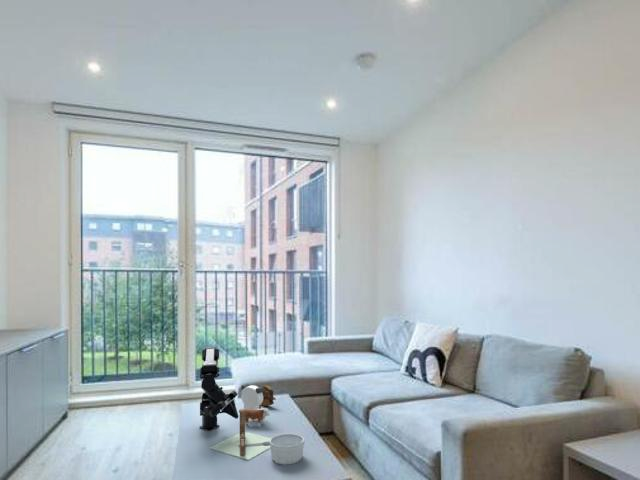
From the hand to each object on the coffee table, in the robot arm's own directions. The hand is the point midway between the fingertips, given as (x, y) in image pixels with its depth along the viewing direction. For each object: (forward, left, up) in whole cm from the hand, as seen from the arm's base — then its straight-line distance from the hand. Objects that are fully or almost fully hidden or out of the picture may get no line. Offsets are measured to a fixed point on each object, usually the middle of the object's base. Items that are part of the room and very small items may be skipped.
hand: (237, 417), depth 179 cm
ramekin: (+31, -5, -8) cm, 32 cm away
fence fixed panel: (+12, -9, -8) cm, 17 cm away
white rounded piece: (-11, +22, -8) cm, 26 cm away
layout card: (+9, -4, -8) cm, 13 cm away
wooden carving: (-18, +39, -8) cm, 44 cm away
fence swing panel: (+4, -2, -7) cm, 9 cm away
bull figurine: (-2, +15, -8) cm, 17 cm away
